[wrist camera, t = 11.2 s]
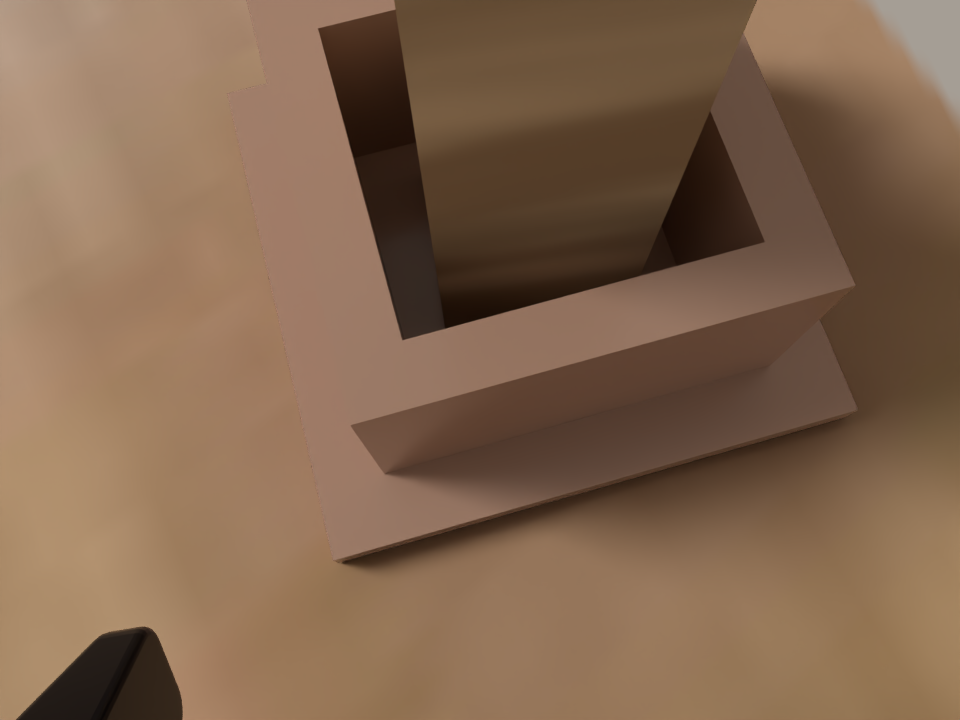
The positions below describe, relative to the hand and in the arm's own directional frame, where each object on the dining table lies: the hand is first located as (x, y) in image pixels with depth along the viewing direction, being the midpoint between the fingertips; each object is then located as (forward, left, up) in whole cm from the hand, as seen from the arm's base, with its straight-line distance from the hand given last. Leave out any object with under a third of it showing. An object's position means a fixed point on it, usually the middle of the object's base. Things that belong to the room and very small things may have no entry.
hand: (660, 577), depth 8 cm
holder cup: (+7, -1, -8) cm, 11 cm away
